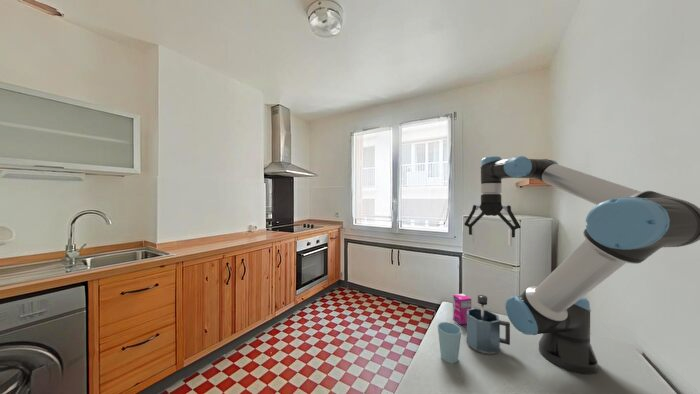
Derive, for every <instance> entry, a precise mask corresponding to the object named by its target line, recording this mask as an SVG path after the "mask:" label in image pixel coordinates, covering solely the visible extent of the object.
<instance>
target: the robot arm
mask: <svg viewBox="0 0 700 394" xmlns="http://www.w3.org/2000/svg"><path fill="white" fill-rule="evenodd" d="M480 161H481V162H480V193H481V194H480V204H479V205H478V204H477V205H476V204H472V209H471V211H470V213H469V215H468V216H467V218H466V220H465V222H464V226H465V227H467V228H468V234H469V235H471V244H474V242H475V227H474V226H475V225H476V224H477V223H478V221H479V220H481V219H482V218H483V216H487V217H489V216H492V217H496V216H498V217H499V218H500V219H501V220H502V221H503V222H504V223H505V224H506V225H507V227H509V228H508V232H507V233H508V237H507V238H508V240H507V241H508V242H507V244H508V246H509V247H512V246H513V238H515V237H516V230H517V229H521V228H522V227H521V225H520V223H519V221H518V220H517V218H516V216H515V215H514V212H512V206H511V205H509V204H508V205H502V204H503V203H502V195H501V193H502V180H503V179H513V178H514V179H534V180H538V181H540V182H542V183H545V184H547V185H550V186H552V187H554V188H556V189H559V190H561V191H564V192H566V193H568V194H570V195H572V196H576V197H577V198H580V199H583V200H584V201H586V202H589V203H592V204H594V206H593V207H592V208H591V209H590V211H589V212H587V216H586V217H585V218H586V219H585V223H586V225H585V229H584V230H583V234H582V235H583V237H584V240H583V241H582V242H581V243H580V244H579V245H578V246H577V247H576V248H575V249H574V250H573V251H572V252H571V253H570V254H569V255H568V256H567V257H566V258H565V259H563V261H562V262H561V263H560V264H559V265H557V267H556V268H555V269H553V271H551V273H550V274H549V275H548V276H547V277H545V278H544V279H543V281H542V282H540V283H539V284H538V285H532V286H529V287H527V288H526V289H525V290H524V291H523V292H522V293H521V294H520V295H518V296H517V295H513V296H510V297H508V298H507V299H506V301H505V305H504V306H505V311H506V316H507V318H508V320H509V322H510V324H511V325H512V326H513V327H514V329H516V330H517V331H519V332H520V333H522V334H523V335H528V336H531V335H532V336H537V335H541V334H542V335H541V337H540V340H538V351H539V353H540V355H541V356H542V357H544V358H545V359H546V360H547V361H548V362H551V363H552V364H554V365H556V366H557V367H560V368H563V369H565V370H568V371H571V372H575V373H579V374H584V375H585V374H586V375H592V374H596V373H597V372H598V371H599V362H598V359H597V357H596V354H595V351H594V349H593V347H592V344H591V312H592V310H591V306H590V305H591V304H590V301H589V299H588V298H586V297H585V296H586V295H588V294H589V293H590V292H591V291H592V290H593V289H595V288H596V287H598V286H599V285H600V284H601V283H603V282H604V281H606V279H608V278H609V277H611V275H612V274H614V273H615V272H616V271H618V270H619V269H620V268H622V267H623V266H624V265H626V264H633V265H635V264H636V265H637V264H641V263H642V262H644V261H646V260H647V259H648V258H649V257H651V256H652V255H654V254H655V253H656V252H658V251H659V250H660V249H662V248H679V247H686V246H690V245H693V244H694V243H697V242H698V241H700V207H699V206H697V205H696V204H694V203H692V202H690V201H687V200H684V199H680V198H676V197H673V196H669V195H666V194H663V193H660V192H657V191H653V190H646V191H645V190H644V191H639V190H636V189H633V188H630V187H628V186H626V185H625V186H624V185H621V184H619V183H615V182H612V181H609V180H606V179H603V178H601V177H599V176H598V177H597V176H594V175H591V174H589V173H586V172H582V171H579V170H576V169H573V168H571V167H568V166H567V167H566V166H564V165H562V164H559V163H558V162H557V161H555V160H552V159H549V158H548V159H546V158H543V159H542V158H540V159H539V158H527V157H526V156H523V155H520V156H512V157H510V158H504V159H502V157H501V156H486V157H483V158H482V159H481V160H480ZM479 209H480V211H481V212H480V213H479V214H478V215H477V216H476V217H475V218H474V219H473V220H472V221H471V219H472V217H473V216H474V214H475V212H476V211H477V210H479ZM503 209H504V211H506V213H507V214H508V216H509V219H510V220H511V221H512V223H513V224H512V223H511V222H510V221H509V220H508V219H507V218H506V217H505V216H504V215H503V214H502V212H501V211H502V210H503ZM470 221H471V222H470ZM469 222H470V223H469ZM469 235H468V236H469Z"/></svg>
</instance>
